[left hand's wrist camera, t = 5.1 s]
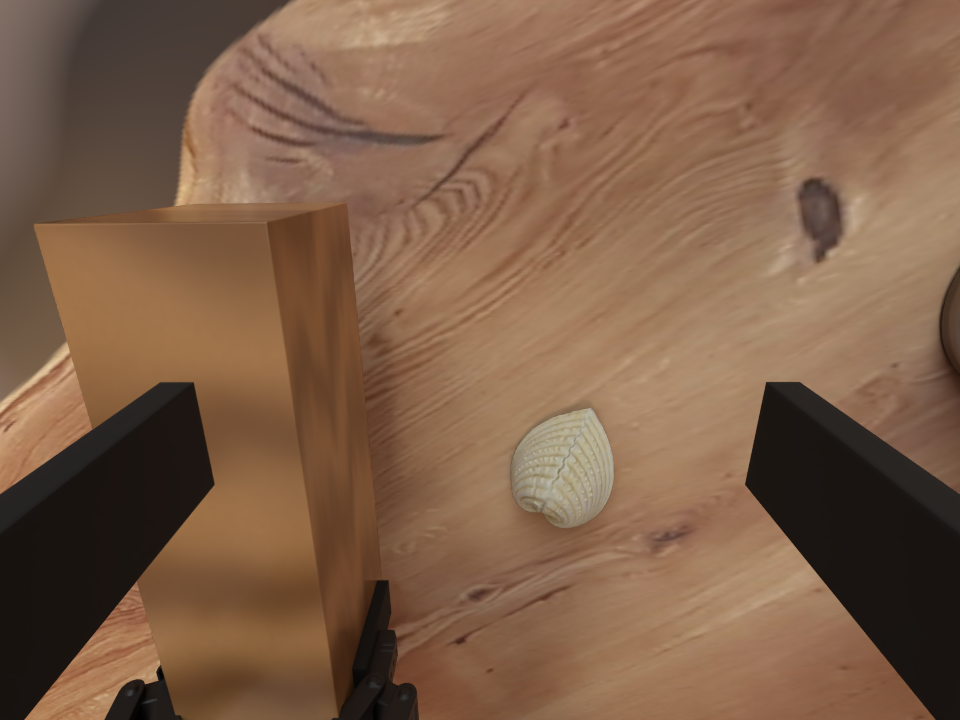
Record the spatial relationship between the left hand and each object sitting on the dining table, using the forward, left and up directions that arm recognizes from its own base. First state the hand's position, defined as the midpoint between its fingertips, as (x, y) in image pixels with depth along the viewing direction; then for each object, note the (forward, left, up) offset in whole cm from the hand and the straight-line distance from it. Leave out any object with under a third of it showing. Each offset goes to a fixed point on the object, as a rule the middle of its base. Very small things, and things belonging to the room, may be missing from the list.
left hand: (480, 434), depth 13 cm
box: (+1, +15, -18) cm, 23 cm away
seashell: (-16, +8, -28) cm, 33 cm away
